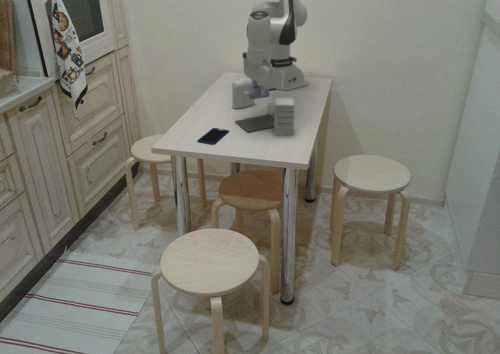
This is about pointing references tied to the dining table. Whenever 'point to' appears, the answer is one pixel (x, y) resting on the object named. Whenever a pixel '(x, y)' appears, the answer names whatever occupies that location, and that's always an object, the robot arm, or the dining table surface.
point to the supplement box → (284, 116)
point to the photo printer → (241, 93)
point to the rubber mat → (256, 123)
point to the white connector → (270, 108)
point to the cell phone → (213, 136)
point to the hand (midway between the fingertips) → (259, 92)
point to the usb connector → (257, 92)
